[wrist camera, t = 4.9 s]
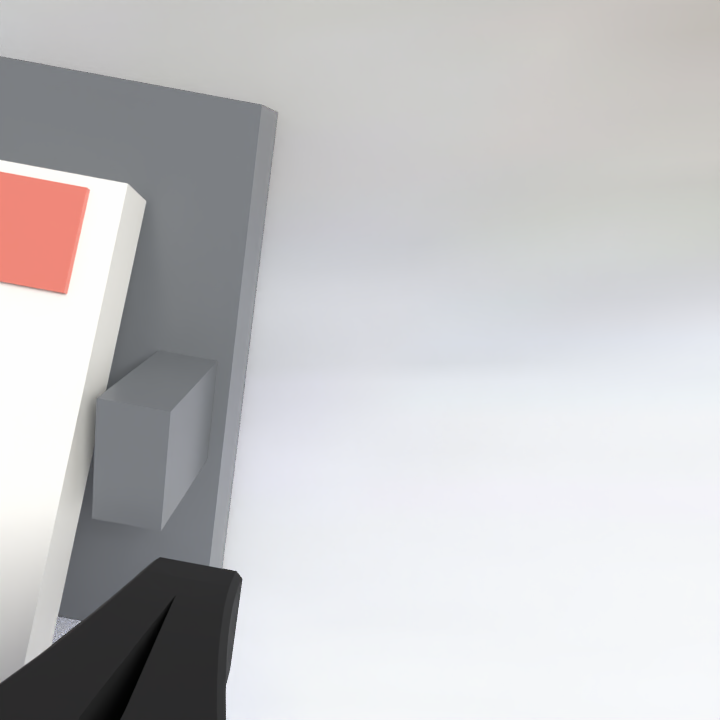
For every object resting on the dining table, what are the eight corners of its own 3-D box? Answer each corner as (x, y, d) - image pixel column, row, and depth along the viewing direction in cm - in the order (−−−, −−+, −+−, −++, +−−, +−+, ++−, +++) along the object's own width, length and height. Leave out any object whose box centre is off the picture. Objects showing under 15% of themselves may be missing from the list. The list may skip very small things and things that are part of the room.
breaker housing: (218, 599, 21) (158, 743, 16) (-91, 541, 21) (-255, 667, 16) (278, 112, 16) (219, 84, 11) (-129, 37, 16) (-387, -28, 11)
